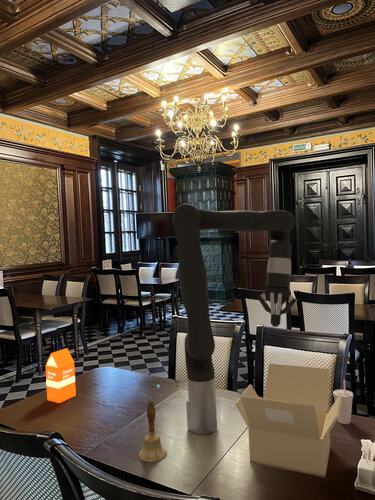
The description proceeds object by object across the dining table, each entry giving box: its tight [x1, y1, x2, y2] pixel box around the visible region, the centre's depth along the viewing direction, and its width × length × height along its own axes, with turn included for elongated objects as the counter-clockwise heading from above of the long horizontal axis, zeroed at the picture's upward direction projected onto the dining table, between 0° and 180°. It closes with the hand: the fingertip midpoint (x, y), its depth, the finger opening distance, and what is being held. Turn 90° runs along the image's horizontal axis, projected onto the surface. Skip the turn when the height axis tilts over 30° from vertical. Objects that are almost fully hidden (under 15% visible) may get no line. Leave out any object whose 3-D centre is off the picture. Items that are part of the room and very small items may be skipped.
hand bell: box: [138, 400, 168, 463], centre depth 113 cm, size 8×8×16 cm
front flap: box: [239, 394, 320, 439], centre depth 99 cm, size 18×14×1 cm
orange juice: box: [45, 347, 77, 404], centre depth 161 cm, size 8×9×20 cm
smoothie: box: [332, 379, 354, 425], centre depth 128 cm, size 6×6×14 cm
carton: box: [234, 363, 342, 478], centre depth 115 cm, size 28×26×20 cm
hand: (275, 326), depth 122 cm, fingers closed
